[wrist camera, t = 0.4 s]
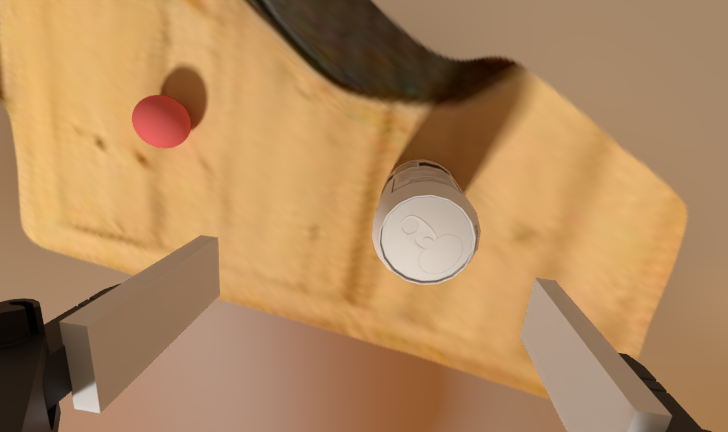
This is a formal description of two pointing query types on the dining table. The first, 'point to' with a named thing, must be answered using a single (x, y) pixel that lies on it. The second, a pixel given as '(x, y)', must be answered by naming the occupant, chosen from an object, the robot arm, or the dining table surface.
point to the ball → (161, 121)
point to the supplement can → (424, 224)
